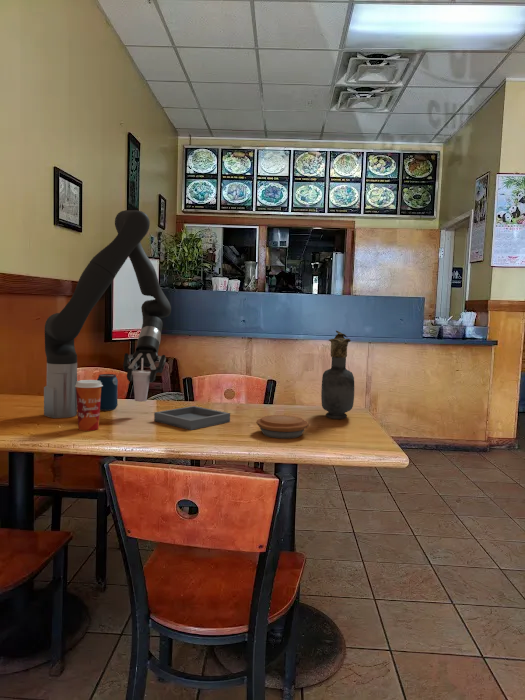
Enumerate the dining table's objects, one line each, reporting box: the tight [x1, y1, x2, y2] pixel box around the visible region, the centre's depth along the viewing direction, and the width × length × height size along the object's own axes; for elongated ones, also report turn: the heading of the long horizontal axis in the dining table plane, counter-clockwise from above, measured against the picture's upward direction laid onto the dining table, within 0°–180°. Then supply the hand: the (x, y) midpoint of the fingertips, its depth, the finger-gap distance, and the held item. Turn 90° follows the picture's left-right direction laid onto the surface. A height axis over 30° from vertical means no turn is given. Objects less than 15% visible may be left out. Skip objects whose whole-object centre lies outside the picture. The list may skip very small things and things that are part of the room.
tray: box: [153, 405, 231, 431], centre depth 167 cm, size 17×17×3 cm
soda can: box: [96, 373, 119, 411], centre depth 183 cm, size 7×7×12 cm
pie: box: [255, 414, 310, 440], centre depth 154 cm, size 15×16×5 cm
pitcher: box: [320, 330, 355, 420], centre depth 182 cm, size 11×19×30 cm, turn 176°
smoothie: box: [132, 358, 151, 403], centre depth 172 cm, size 6×6×14 cm
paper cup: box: [75, 379, 103, 432], centre depth 153 cm, size 8×8×14 cm
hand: (140, 380), depth 170 cm, fingers closed on smoothie, 6 cm apart
